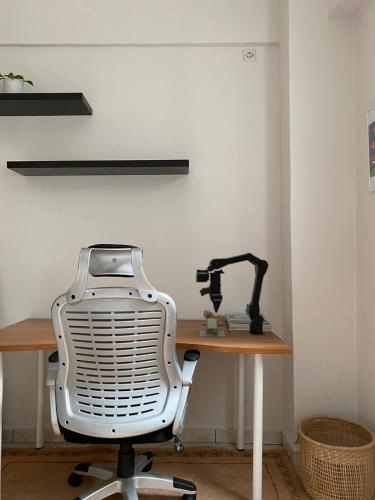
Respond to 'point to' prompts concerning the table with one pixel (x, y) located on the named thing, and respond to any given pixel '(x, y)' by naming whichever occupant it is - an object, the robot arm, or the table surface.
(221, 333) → the slate pad
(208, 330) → the walnut block
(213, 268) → the robot arm
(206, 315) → the lion figurine
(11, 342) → the table surface
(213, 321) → the sage cube
